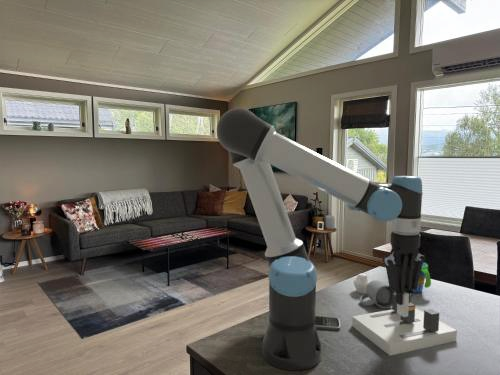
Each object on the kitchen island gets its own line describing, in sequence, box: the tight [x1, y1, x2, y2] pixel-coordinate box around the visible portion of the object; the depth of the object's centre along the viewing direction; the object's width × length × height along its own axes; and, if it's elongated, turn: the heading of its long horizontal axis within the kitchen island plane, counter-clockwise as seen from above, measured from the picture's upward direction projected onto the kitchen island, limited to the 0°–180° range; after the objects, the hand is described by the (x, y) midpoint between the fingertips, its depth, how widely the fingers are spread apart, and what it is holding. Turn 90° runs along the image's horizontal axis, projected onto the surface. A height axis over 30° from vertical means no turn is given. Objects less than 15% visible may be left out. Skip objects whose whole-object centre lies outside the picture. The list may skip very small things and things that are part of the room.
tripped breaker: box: [401, 302, 416, 324], centre depth 98 cm, size 3×3×5 cm
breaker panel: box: [351, 307, 458, 356], centre depth 98 cm, size 22×16×3 cm
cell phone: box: [315, 315, 341, 331], centre depth 103 cm, size 6×11×1 cm, turn 80°
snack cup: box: [412, 262, 432, 293], centre depth 130 cm, size 16×10×10 cm
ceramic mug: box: [359, 279, 396, 309], centre depth 117 cm, size 11×8×8 cm
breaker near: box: [423, 308, 440, 333], centre depth 93 cm, size 2×3×5 cm
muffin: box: [353, 272, 371, 294], centre depth 128 cm, size 6×6×7 cm
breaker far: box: [391, 293, 397, 312], centre depth 104 cm, size 2×3×5 cm
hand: (402, 314), depth 97 cm, fingers closed
